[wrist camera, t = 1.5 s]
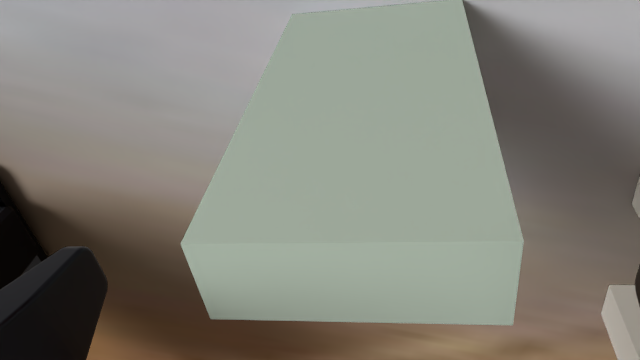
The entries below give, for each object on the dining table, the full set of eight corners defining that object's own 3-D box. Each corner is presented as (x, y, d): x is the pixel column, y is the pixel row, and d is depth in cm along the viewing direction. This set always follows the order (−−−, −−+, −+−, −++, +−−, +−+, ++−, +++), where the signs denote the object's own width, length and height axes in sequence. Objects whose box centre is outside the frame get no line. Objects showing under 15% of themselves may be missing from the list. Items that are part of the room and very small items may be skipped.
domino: (460, 57, 16) (512, 325, 8) (301, 68, 17) (210, 319, 9) (462, -1, 15) (524, 241, 7) (292, 14, 16) (180, 244, 8)
